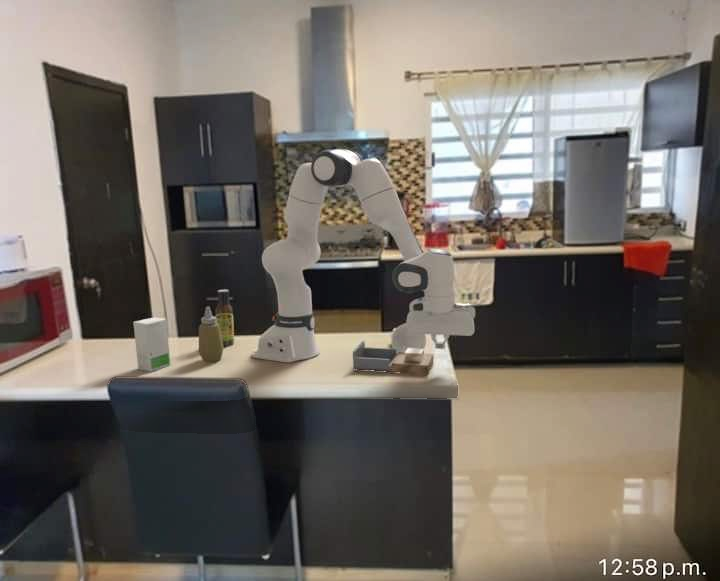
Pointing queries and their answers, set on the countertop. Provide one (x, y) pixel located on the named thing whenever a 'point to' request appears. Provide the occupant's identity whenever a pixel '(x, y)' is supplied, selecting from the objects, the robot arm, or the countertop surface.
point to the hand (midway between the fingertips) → (440, 348)
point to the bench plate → (412, 364)
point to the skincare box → (152, 344)
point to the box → (373, 358)
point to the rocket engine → (406, 339)
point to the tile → (414, 354)
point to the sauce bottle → (225, 317)
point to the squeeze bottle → (210, 338)
